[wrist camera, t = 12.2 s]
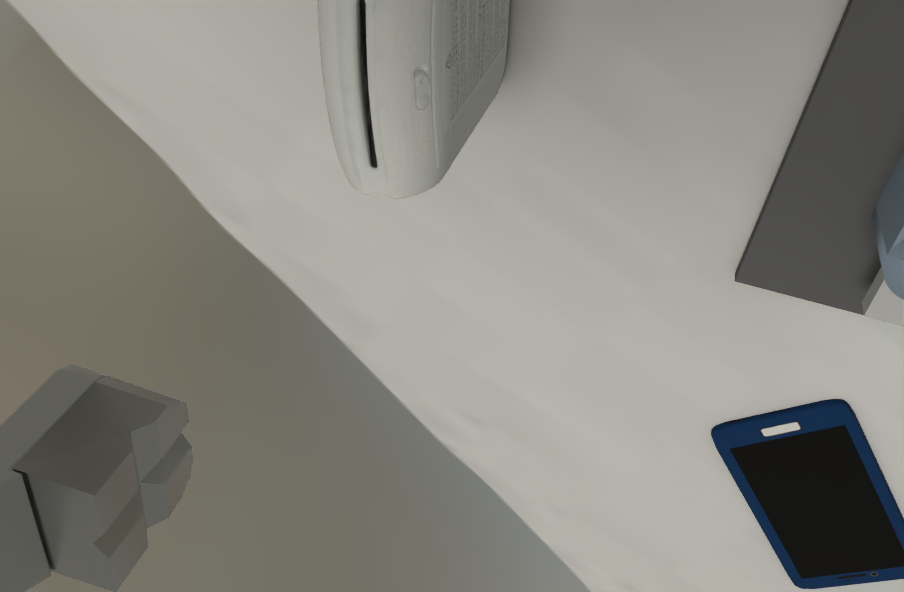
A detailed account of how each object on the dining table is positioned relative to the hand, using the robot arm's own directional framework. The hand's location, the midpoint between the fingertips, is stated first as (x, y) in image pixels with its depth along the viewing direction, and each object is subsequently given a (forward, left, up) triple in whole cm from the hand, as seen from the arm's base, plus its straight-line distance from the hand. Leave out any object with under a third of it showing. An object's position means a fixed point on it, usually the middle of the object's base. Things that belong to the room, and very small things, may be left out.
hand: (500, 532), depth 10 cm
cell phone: (+27, +16, -30) cm, 43 cm away
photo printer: (+3, -8, -29) cm, 31 cm away
